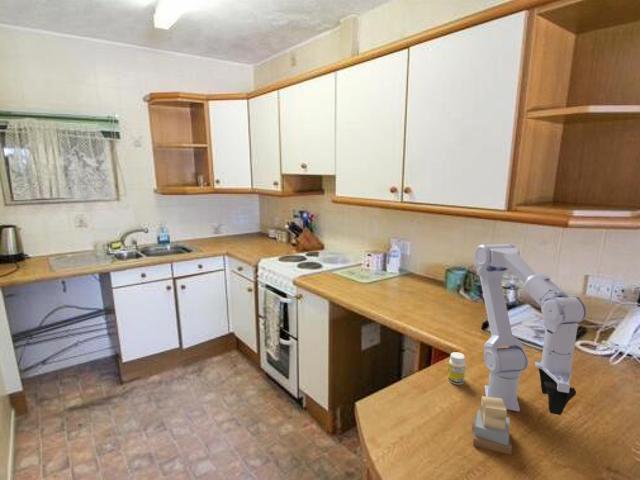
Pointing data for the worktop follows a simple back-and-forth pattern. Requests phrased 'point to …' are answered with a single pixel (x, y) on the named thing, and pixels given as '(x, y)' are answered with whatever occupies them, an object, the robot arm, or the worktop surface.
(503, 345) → the robot arm
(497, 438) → the slate slab
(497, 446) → the walnut slab
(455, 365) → the supplement bottle
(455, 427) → the worktop surface
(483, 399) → the oak block
